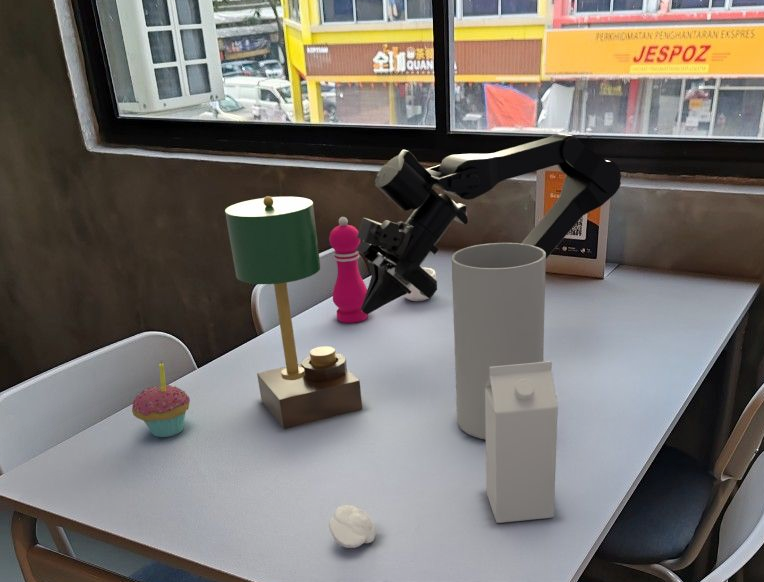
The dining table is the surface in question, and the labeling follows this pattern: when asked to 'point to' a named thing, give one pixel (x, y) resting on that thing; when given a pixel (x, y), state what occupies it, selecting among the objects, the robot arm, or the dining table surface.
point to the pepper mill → (347, 273)
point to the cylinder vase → (494, 319)
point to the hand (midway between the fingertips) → (363, 312)
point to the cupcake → (162, 408)
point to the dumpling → (351, 527)
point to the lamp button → (322, 356)
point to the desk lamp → (275, 254)
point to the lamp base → (310, 393)
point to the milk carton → (521, 441)
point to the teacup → (415, 292)
